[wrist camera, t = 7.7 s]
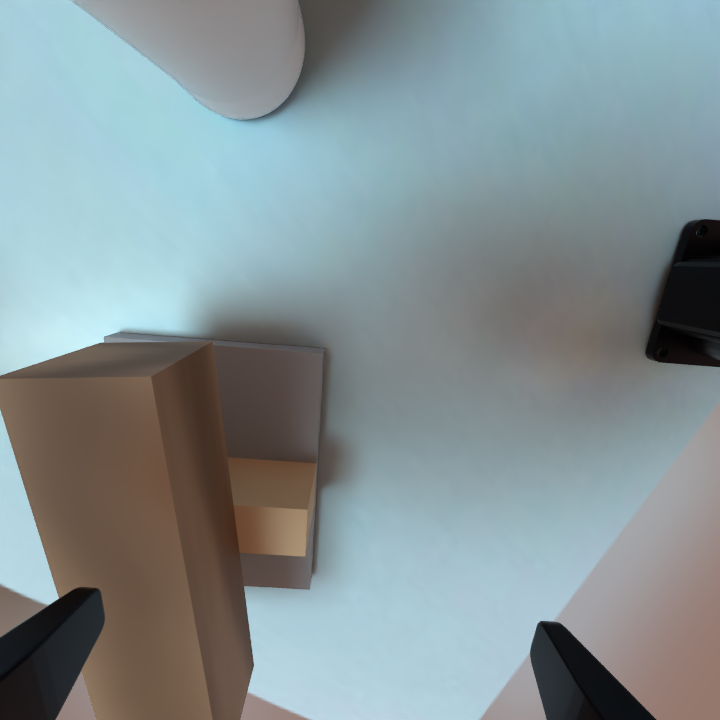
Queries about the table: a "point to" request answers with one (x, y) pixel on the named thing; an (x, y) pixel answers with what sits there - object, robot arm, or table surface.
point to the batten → (139, 520)
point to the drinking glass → (215, 47)
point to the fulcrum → (268, 452)
